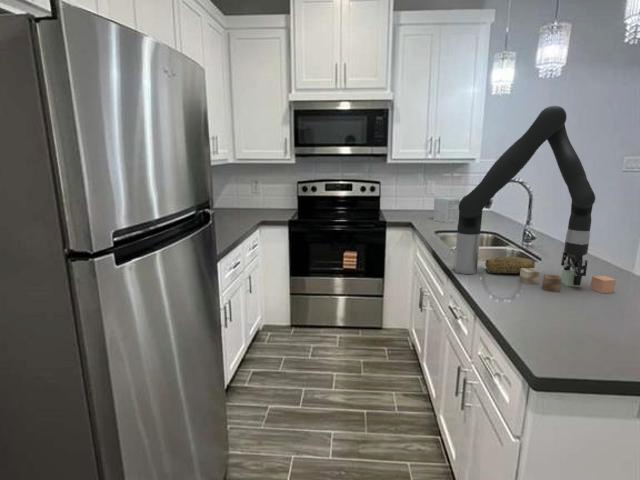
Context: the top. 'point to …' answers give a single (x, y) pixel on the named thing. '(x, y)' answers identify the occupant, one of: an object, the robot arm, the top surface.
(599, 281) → the terracotta block
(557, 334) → the top surface
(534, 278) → the maple block
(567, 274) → the sage block
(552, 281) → the walnut block
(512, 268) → the sponge
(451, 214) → the supplement box
